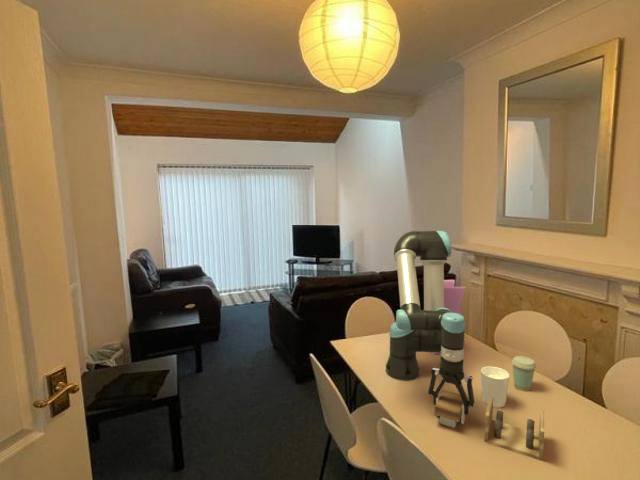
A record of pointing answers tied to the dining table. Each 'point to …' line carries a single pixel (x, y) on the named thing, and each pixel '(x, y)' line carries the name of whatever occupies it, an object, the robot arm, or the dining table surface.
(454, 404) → the board
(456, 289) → the vase
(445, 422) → the block
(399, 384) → the dining table surface
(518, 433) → the peg frame
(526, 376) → the coffee cup
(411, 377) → the robot arm
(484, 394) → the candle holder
